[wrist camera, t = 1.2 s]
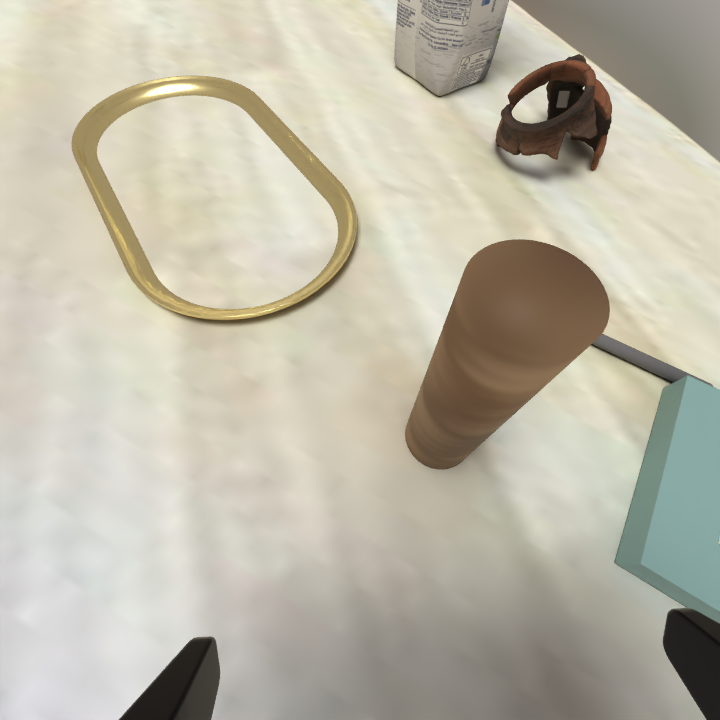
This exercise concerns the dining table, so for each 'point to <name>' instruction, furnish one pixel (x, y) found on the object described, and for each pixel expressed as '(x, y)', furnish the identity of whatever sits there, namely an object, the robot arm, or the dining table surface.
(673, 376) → the grey thin rod
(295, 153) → the gold oval loop
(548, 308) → the dowel
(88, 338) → the dining table surface
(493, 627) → the dining table surface
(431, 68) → the juice carton
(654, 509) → the square ring
